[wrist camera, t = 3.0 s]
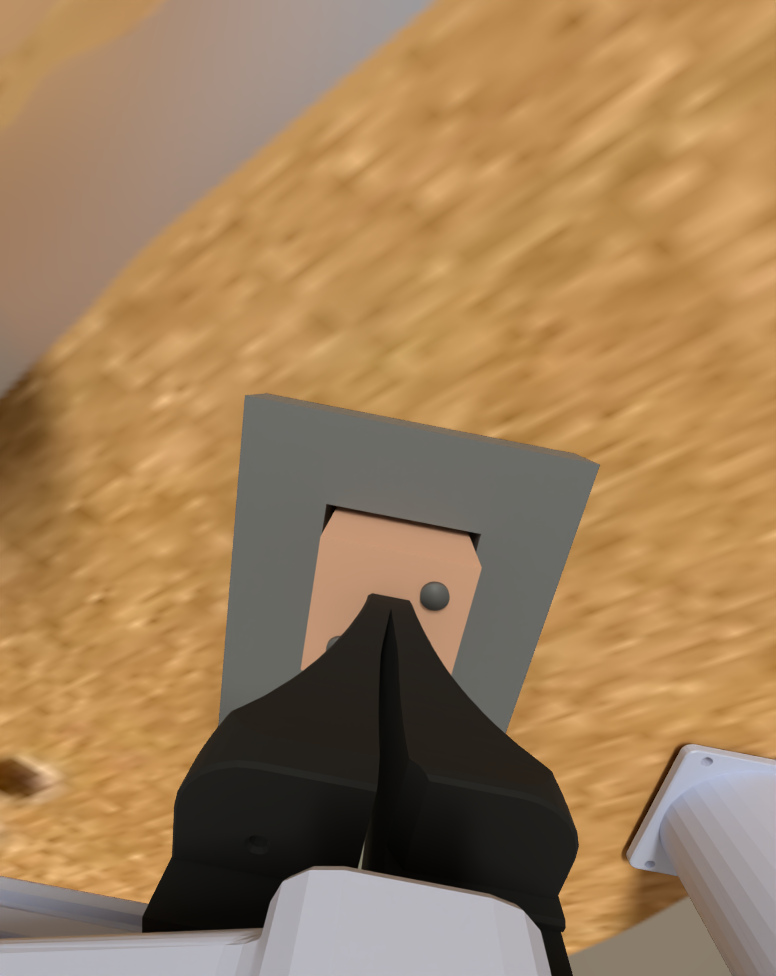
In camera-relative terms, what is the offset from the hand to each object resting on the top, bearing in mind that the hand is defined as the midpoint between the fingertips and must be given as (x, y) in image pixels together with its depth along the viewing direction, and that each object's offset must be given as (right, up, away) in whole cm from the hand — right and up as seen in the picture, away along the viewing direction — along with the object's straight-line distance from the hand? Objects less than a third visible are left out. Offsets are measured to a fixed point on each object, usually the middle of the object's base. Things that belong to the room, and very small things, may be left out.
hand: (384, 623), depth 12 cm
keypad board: (-1, -6, +6) cm, 9 cm away
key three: (0, +1, +4) cm, 4 cm away
